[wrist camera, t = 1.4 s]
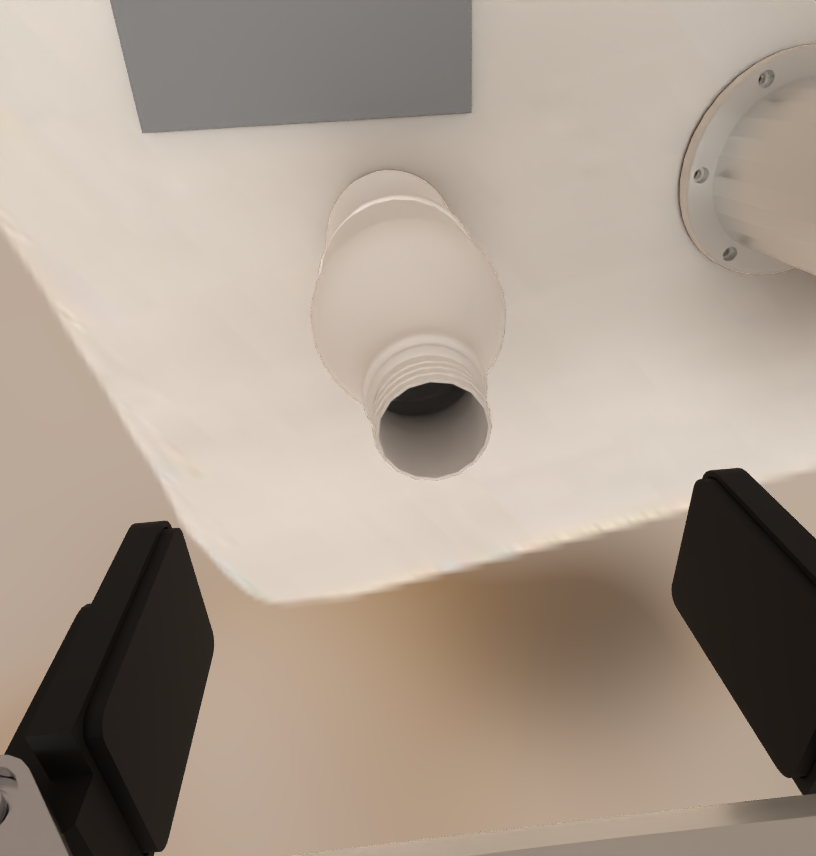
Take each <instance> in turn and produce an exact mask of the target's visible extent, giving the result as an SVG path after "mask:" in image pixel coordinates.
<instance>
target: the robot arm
mask: <svg viewBox="0 0 816 856" xmlns="http://www.w3.org/2000/svg"><path fill="white" fill-rule="evenodd" d="M760 76H761V80H760V82H759V77H760ZM696 171H698V173H697V176H696V177H694V174H695V172H696ZM680 206H681V212H682V218H683V221H684V224H685V226H686V229H687V231H688V234H689V236H690V238H691V239H692V240H693V242H694V243H695V245H696V246H697V248H698V249H699V250H700V251H701V252H702V253H703V254H705V255H706V256H707V257H708V258H709V259H710V260H712V261H714V262H716V263H718V264H719V265H721V266H723V267H725V268H728V269H731V270H733V271H736V272H739V273H745V274H753V275H764V274H776V273H780V272H783V271H787V270H791V269H794V268H798V269H800V270H803V271H805V272H808V273H810V274H813V275H815V276H816V44H809V45H801V46H797V47H794V48H790V49H786V50H783V51H779V52H777V53H775V54H773V55H771V56H769V57H767V58H765V59H763V60H761V61H759V62H757V63H756V64H755V65H753V66H752V67H751V68H749V69H748V70H746V71H745V72H744V73H742V74H741V75H739V76H738V77H737V78H736V79H735V80H734V81H733V82H732V83H731V84H730V85H729V86H728V87H727V88H726V89H725V90H724V91H723V92H722V93H721V94H720V95H719V96H718V97H717V99H716V100H715V101H714V103H713V104H712V105H711V107H710V108H709V109H708V111H707V112H706V113H705V115H704V117H703V118H702V120H701V122H700V124H699V126H698V127H697V129H696V131H695V133H694V135H693V137H692V139H691V142H690V145H689V147H688V150H687V153H686V155H685V158H684V163H683V168H682V173H681V178H680ZM725 250H726V251H725ZM724 251H725V252H724ZM672 597H673V601H674V604H675V606H676V608H677V609H678V611H679V612H680V614H681V616H682V617H683V619H684V620H685V622H686V624H687V625H688V627H689V628H690V630H691V631H692V633H693V635H694V636H695V638H696V640H697V641H698V642H699V644H700V646H701V648H702V649H703V651H704V652H705V654H706V656H707V657H708V659H709V660H710V662H711V663H712V665H713V667H714V668H715V670H716V672H717V673H718V675H719V676H720V678H721V679H722V681H723V683H724V684H725V686H726V687H727V689H728V691H729V692H730V694H731V695H732V697H733V699H734V700H735V702H736V703H737V705H738V707H739V708H740V710H741V711H742V713H743V715H744V716H745V718H746V719H747V721H748V722H749V724H750V726H751V727H752V729H753V730H754V732H755V734H756V735H757V737H758V739H759V740H760V742H761V743H762V745H763V746H764V748H765V750H766V751H767V753H768V754H769V756H770V758H771V759H772V761H773V762H774V764H775V766H776V767H777V769H778V770H779V771H780V772H781V773H782V774H783V775H784V776H785V777H788V778H792V779H793V780H794V782H795V783H796V785H797V787H798V788H799V790H800V791H801V793H802V794H803V795H801V796H790V797H781V798H772V799H764V800H754V801H745V802H737V803H728V804H719V805H710V806H701V807H692V808H683V809H674V810H666V811H658V812H648V813H639V814H630V815H622V816H613V817H605V818H596V819H588V820H580V821H571V822H562V823H554V824H545V825H537V826H529V827H520V828H511V829H503V830H495V831H487V832H478V833H470V834H462V835H453V836H444V837H436V838H429V839H420V840H412V841H404V842H396V843H388V844H380V845H372V846H364V847H355V848H347V849H340V850H332V851H323V852H315V853H307V854H299V855H291V856H816V539H815V538H814V537H813V536H812V535H811V534H810V533H809V532H808V531H807V530H806V529H805V528H804V527H803V526H802V525H801V524H800V523H799V522H798V521H797V520H796V519H795V518H794V517H793V516H791V514H789V512H787V511H786V510H785V509H784V508H783V507H782V506H781V505H780V504H779V503H778V502H777V501H776V500H775V499H774V498H773V497H772V496H771V495H770V494H769V493H768V492H767V491H766V490H765V489H764V488H763V487H762V486H761V485H760V484H759V483H758V482H757V481H756V480H755V479H753V478H752V477H751V476H750V475H749V474H748V473H747V472H746V471H745V470H743V469H741V468H732V469H721V470H710V471H707V472H706V473H705V474H704V475H703V478H702V479H700V480H697V481H696V483H695V485H694V488H693V493H692V497H691V502H690V506H689V511H688V515H687V520H686V525H685V529H684V533H683V538H682V542H681V547H680V551H679V556H678V561H677V565H676V570H675V574H674V578H673V583H672ZM213 651H214V637H213V631H212V628H211V625H210V622H209V618H208V615H207V612H206V608H205V605H204V602H203V598H202V595H201V592H200V589H199V585H198V582H197V579H196V575H195V572H194V569H193V565H192V562H191V559H190V556H189V552H188V549H187V546H186V542H185V539H184V536H183V533H182V531H181V529H180V528H172V527H171V525H170V524H169V522H168V521H158V522H146V523H135V524H133V525H131V527H130V528H129V530H128V532H127V534H126V536H125V538H124V540H123V542H122V544H121V546H120V548H119V550H118V552H117V554H116V556H115V558H114V560H113V562H112V564H111V566H110V568H109V570H108V572H107V574H106V576H105V578H104V580H103V582H102V584H101V586H100V588H99V590H98V592H97V594H96V596H95V598H94V600H93V602H92V604H87V605H85V606H84V607H82V608H81V610H80V611H79V613H78V614H77V615H76V618H75V619H74V622H73V623H72V625H71V627H70V629H69V631H68V633H67V635H66V637H65V639H64V640H63V642H62V644H61V646H60V648H59V650H58V652H57V654H56V656H55V658H54V660H53V662H52V664H51V665H50V667H49V669H48V671H47V673H46V675H45V677H44V679H43V681H42V683H41V685H40V687H39V689H38V691H37V693H36V694H35V696H34V698H33V700H32V702H31V704H30V706H29V708H28V710H27V712H26V714H25V716H24V718H23V719H22V721H21V723H20V725H19V727H18V729H17V731H16V733H15V735H14V737H13V739H12V741H11V743H10V745H9V746H8V748H7V750H6V752H5V754H4V755H0V856H154V852H161V851H163V850H164V848H165V846H166V844H167V841H168V838H169V834H170V830H171V825H172V821H173V817H174V813H175V809H176V805H177V801H178V797H179V792H180V789H181V784H182V780H183V776H184V772H185V767H186V764H187V759H188V756H189V751H190V747H191V743H192V739H193V735H194V731H195V727H196V723H197V718H198V714H199V710H200V706H201V702H202V698H203V694H204V690H205V685H206V681H207V677H208V673H209V669H210V665H211V661H212V656H213Z"/></svg>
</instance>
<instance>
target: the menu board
mask: <svg viewBox="0 0 816 856" xmlns="http://www.w3.org/2000/svg"><path fill="white" fill-rule="evenodd" d="M110 2H111V6H112V10H113V14H114V19H115V23H116V27H117V31H118V35H119V39H120V43H121V47H122V51H123V56H124V60H125V64H126V68H127V72H128V76H129V80H130V84H131V88H132V92H133V97H134V101H135V105H136V109H137V113H138V117H139V121H140V125H141V129H142V133H150V132H166V131H182V130H198V129H215V128H231V127H247V126H263V125H279V124H295V123H311V122H327V121H343V120H359V119H375V118H391V117H407V116H423V115H439V114H455V113H471V0H110Z"/></svg>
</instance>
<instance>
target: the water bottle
mask: <svg viewBox="0 0 816 856" xmlns="http://www.w3.org/2000/svg"><path fill="white" fill-rule="evenodd" d="M505 316H506V309H505V302H504V295H503V291H502V288H501V284H500V281H499V279H498V276H497V274H496V272H495V270H494V268H493V265H492V264H491V262H490V261H489V259H488V258H487V257H486V255H485V254H484V252H483V251H482V250H481V249H480V248H479V247H478V246H477V245H476V244H475V243H474V242H473V240H472V238H471V237H470V235H469V233H468V231H467V230H466V229H465V227H464V226H463V224H462V223H461V222H460V221H459V219H458V218H457V217H456V216H455V215H454V214H453V213H452V212H451V211H450V210H449V208H448V206H447V204H446V203H445V201H444V200H443V198H442V197H441V196H440V194H439V193H438V192H437V191H436V190H435V189H434V188H433V187H432V186H431V185H430V184H428V183H427V182H426V181H424V180H423V179H421V178H419V177H417V176H415V175H413V174H410V173H407V172H404V171H399V170H380V171H375V172H372V173H370V174H368V175H365V176H363V177H361V178H359V179H357V180H355V181H354V182H352V183H351V184H350V185H349V186H348V187H347V188H346V189H345V190H344V192H343V193H342V194H341V195H340V196H339V198H338V200H337V201H336V203H335V205H334V207H333V209H332V212H331V214H330V217H329V221H328V225H327V232H326V248H325V251H324V253H323V256H322V259H321V263H320V267H319V274H318V280H317V282H316V286H315V289H314V293H313V297H312V307H311V323H312V332H313V336H314V341H315V346H316V348H317V350H318V353H319V355H320V358H321V360H322V362H323V364H324V366H325V368H326V369H327V371H328V372H329V374H330V375H331V377H332V378H333V380H334V381H335V382H336V383H337V384H338V385H339V386H340V387H341V388H342V389H343V390H344V391H345V392H346V393H347V394H349V395H350V396H351V397H353V398H354V399H355V400H357V401H358V402H360V403H361V404H363V406H364V410H365V412H366V414H367V417H368V419H369V420H370V422H371V423H372V425H373V428H372V430H373V435H374V440H375V445H376V448H377V449H378V451H379V453H380V454H381V456H382V458H383V459H384V460H385V462H387V463H388V464H389V465H390V466H391V467H392V468H393V469H394V470H395V471H397V472H399V473H401V474H404V475H406V476H409V477H411V478H413V479H418V480H436V481H437V480H441V479H444V478H448V477H451V476H455V475H458V474H460V473H461V472H463V471H464V470H466V469H467V468H469V467H470V466H472V465H473V464H474V463H476V462H477V460H478V459H479V457H480V456H481V455H482V453H483V452H484V450H485V449H486V447H487V446H488V443H489V438H490V433H491V428H492V424H491V419H490V408H489V406H488V404H487V401H486V398H487V388H488V386H487V377H486V376H487V375H488V373H489V372H490V370H491V369H492V367H493V365H494V363H495V361H496V358H497V356H498V354H499V351H500V349H501V346H502V342H503V337H504V333H505Z"/></svg>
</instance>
